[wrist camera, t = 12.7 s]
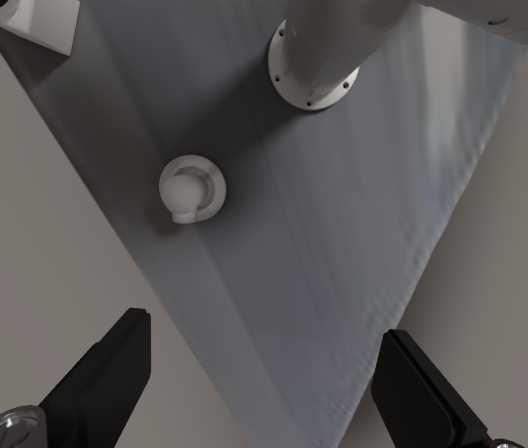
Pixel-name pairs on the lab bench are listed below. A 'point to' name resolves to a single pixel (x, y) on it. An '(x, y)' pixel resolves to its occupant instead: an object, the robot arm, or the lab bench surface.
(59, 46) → the medicine bottle
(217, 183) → the shallow grey dish
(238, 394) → the lab bench surface
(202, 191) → the white light bulb
